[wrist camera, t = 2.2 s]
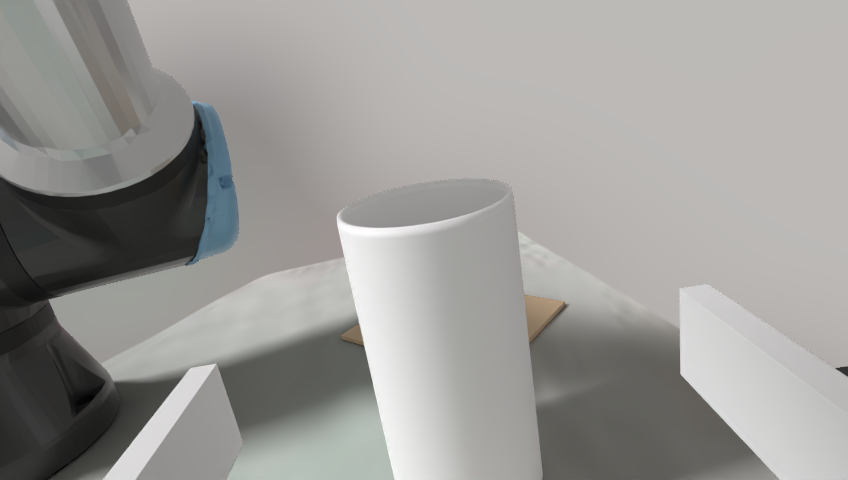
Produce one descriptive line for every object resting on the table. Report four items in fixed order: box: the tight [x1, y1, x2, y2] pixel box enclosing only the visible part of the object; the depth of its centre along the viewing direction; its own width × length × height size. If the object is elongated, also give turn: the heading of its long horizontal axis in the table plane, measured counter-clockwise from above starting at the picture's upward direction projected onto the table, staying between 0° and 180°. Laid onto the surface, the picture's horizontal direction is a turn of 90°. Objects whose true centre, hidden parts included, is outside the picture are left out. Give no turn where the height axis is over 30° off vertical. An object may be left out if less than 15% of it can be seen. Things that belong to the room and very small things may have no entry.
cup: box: [337, 179, 543, 480], centre depth 25 cm, size 8×8×16 cm
